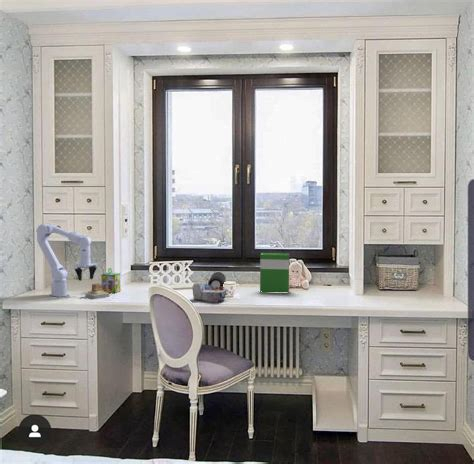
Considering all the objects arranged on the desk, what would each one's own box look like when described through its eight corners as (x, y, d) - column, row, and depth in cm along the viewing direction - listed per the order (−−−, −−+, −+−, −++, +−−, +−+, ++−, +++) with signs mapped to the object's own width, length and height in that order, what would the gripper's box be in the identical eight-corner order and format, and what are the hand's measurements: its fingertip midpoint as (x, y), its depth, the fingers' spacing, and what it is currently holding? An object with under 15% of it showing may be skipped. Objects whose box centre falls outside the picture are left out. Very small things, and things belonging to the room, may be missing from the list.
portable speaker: (223, 293, 361) (223, 277, 360) (207, 293, 361) (207, 277, 360) (225, 286, 386) (225, 271, 386) (210, 286, 387) (210, 271, 386)
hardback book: (288, 291, 369) (289, 253, 367) (288, 293, 362) (288, 255, 360) (261, 290, 371) (261, 253, 369) (260, 292, 364) (260, 254, 362)
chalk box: (115, 293, 357) (115, 269, 356) (101, 292, 359) (100, 269, 358) (121, 290, 366) (120, 267, 365) (107, 290, 368) (107, 267, 367)
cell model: (198, 279, 346) (230, 281, 340) (198, 297, 347) (229, 300, 341) (189, 282, 334) (222, 285, 328) (189, 301, 335) (222, 304, 329)
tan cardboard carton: (90, 293, 347) (90, 283, 346) (97, 292, 350) (97, 283, 350) (96, 294, 342) (96, 285, 342) (104, 293, 346) (104, 284, 345)
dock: (85, 296, 346) (85, 293, 346) (99, 294, 353) (99, 291, 353) (94, 298, 339) (94, 295, 339) (109, 296, 346) (109, 293, 346)
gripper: (78, 258, 338) (78, 281, 339) (99, 256, 348) (100, 279, 349) (71, 257, 343) (72, 280, 344) (93, 255, 353) (93, 277, 354)
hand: (85, 279), depth 347 cm, fingers open, 7 cm apart
